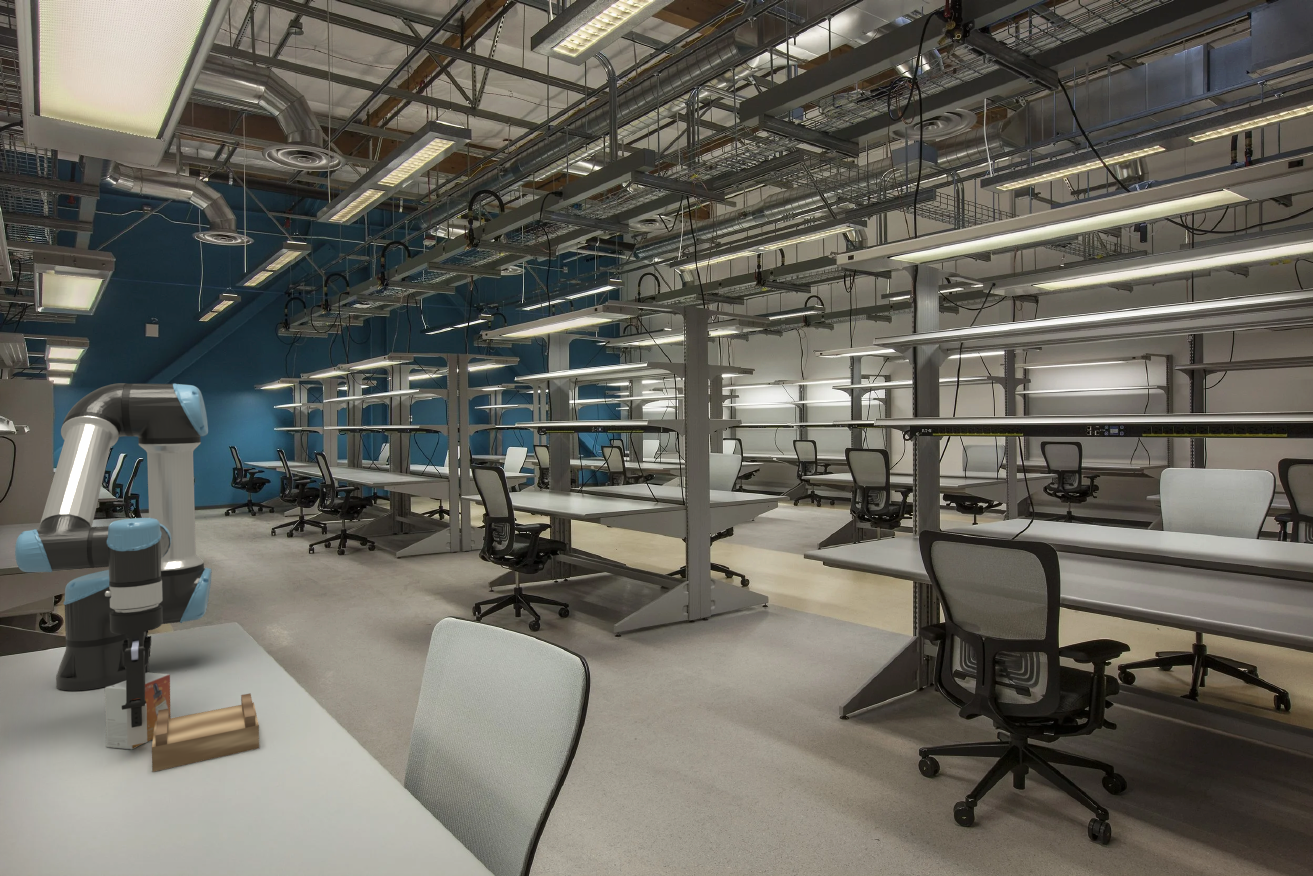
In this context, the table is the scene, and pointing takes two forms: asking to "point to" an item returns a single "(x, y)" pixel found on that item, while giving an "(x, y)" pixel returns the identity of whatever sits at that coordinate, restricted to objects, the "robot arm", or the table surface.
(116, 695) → the small box
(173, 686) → the table surface
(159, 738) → the wooden tray
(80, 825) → the table surface
